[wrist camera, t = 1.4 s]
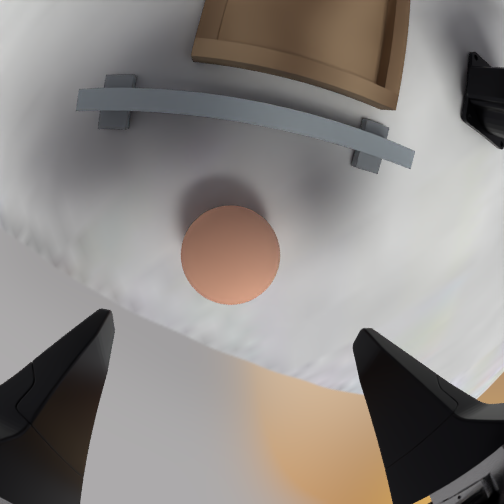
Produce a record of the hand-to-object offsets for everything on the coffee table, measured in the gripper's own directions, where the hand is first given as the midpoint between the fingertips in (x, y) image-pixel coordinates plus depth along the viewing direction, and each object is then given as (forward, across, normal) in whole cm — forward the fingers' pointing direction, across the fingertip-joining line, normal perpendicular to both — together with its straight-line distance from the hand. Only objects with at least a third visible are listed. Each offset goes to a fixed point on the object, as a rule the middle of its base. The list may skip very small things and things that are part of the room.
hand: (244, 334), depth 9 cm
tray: (+8, -2, -15) cm, 17 cm away
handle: (+8, 0, -7) cm, 11 cm away
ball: (+8, 0, 0) cm, 8 cm away
